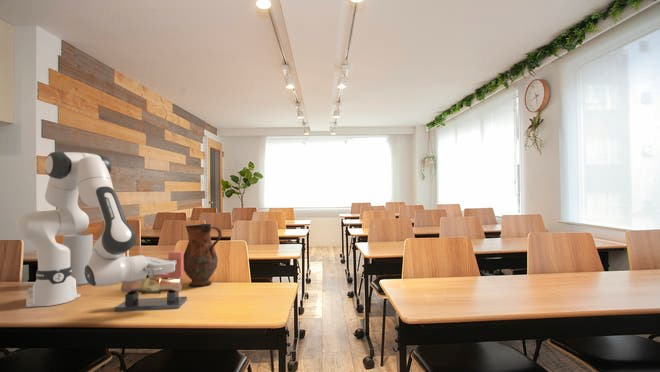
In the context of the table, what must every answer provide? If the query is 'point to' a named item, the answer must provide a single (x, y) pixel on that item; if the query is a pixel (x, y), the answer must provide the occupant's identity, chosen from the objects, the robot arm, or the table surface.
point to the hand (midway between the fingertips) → (174, 261)
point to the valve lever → (178, 267)
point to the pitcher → (200, 254)
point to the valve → (151, 288)
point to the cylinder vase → (79, 254)
